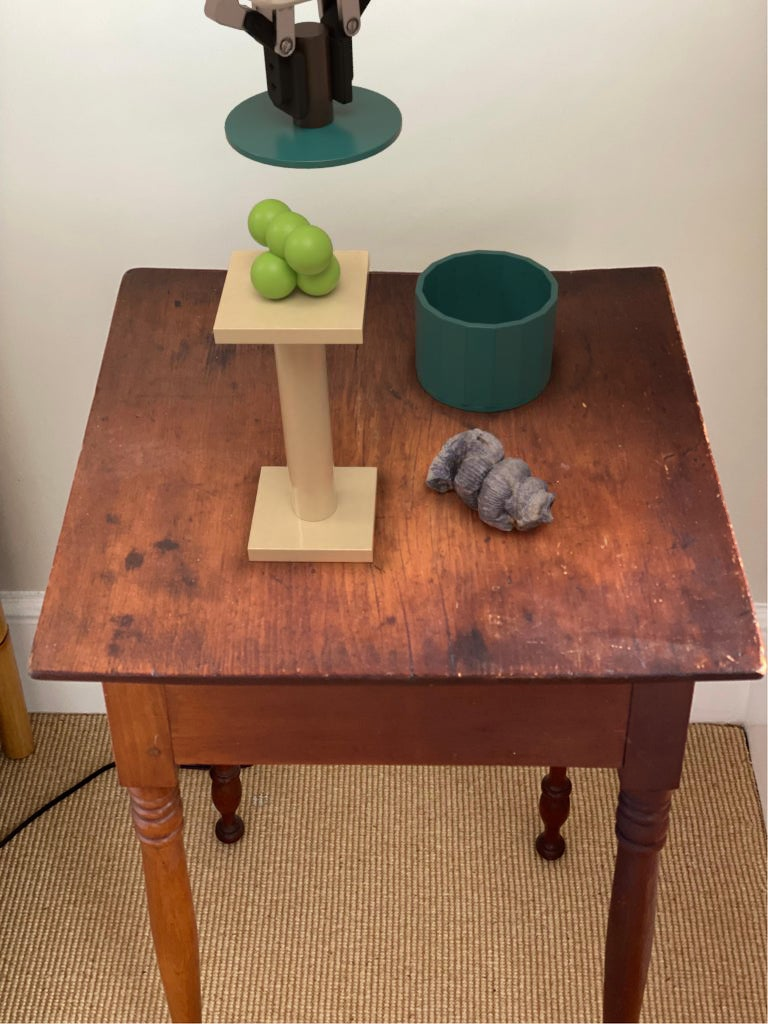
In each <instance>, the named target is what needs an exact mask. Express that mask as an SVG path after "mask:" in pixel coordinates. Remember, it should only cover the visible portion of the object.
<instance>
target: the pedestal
mask: <svg viewBox="0 0 768 1024" xmlns="http://www.w3.org/2000/svg"><path fill="white" fill-rule="evenodd" d="M267 251H269V249H268V250H265V249H264V250H262V249H261V250H232V252H231V257H230V260H229V264H228V269H227V273H226V277H225V281H224V284H223V288H222V292H221V297H220V299H219V304H218V308H217V312H216V316H215V320H214V323H213V328H212V331H213V337H214V338H213V339H214V344H216V345H273V352H274V360H275V370H276V378H277V379H276V380H277V387H278V388H277V389H278V395H279V404H280V412H281V413H280V414H281V422H282V432H283V441H284V448H285V449H284V450H285V458H286V466H284V465H282V466H278V465H275V466H274V465H272V466H271V465H269V466H268V465H264V466H261V467H260V473H259V479H258V484H257V490H256V495H255V496H256V497H255V502H254V508H253V512H252V519H251V524H250V531H249V535H248V542H247V556H248V561H249V562H274V563H275V562H277V563H278V562H281V563H282V562H283V563H286V562H287V563H291V562H294V563H373V561H374V553H375V552H374V550H375V534H376V516H377V503H378V502H377V501H378V500H377V499H378V483H379V473H378V472H379V471H378V467H377V466H335V456H334V454H335V453H334V443H333V428H332V427H333V426H332V415H331V414H332V413H331V400H330V387H329V373H328V359H327V346H326V345H362V344H364V338H365V337H364V336H365V335H364V334H365V325H366V323H365V322H366V313H367V302H368V291H369V290H368V289H369V278H370V267H371V263H370V249H362V250H361V249H347V250H345V249H341V250H340V249H337V250H336V249H335V250H334V249H333V254H334V255H335V257H336V258H337V260H338V262H339V265H340V270H341V274H340V279H339V282H338V284H337V285H336V287H335V288H334V289H333V290H332V291H330V292H329V293H327V294H324V295H319V296H315V295H310V294H307V293H305V292H304V291H302V290H301V289H300V288H299V287H298V285H297V284H296V286H295V288H294V289H293V291H292V292H291V293H290V294H288V295H287V296H285V297H283V298H279V299H270V298H266V297H264V296H262V295H261V294H259V293H258V292H257V291H256V289H255V288H254V286H253V285H252V282H251V278H250V271H251V267H252V264H253V262H254V260H255V259H256V258H257V257H258V256H259V255H261V254H262V253H264V252H267Z"/></svg>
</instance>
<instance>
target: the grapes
mask: <svg viewBox="0 0 768 1024" xmlns="http://www.w3.org/2000/svg"><path fill="white" fill-rule="evenodd" d="M247 228H248V232H249V234H250V236H251V238H252V239H253V240H254V241H255V242H256V244H258V245H260V246H263V248H268V250H269V251H267V252H264V253H262V254H261V255H259V256H258V257H257V258H256V259H255V260H254V262H253V264H252V267H251V271H250V278H251V282H252V285H253V286H254V288H255V289H256V291H257V292H258V293H259V294H261V295H262V296H264V297H266V298H270V299H279V298H283V297H285V296H287V295H288V294H290V293H291V292H292V291H293V289H294V288H295V286H296V284H297V285H298V287H299V288H300V289H301V290H302V291H304V292H305V293H307V294H310V295H315V296H319V295H324V294H327V293H329V292H330V291H332V290H333V289H334V288H335V287H336V285H337V284H338V282H339V279H340V274H341V270H340V265H339V262H338V260H337V258H336V257H335V255H334V254H333V250H334V247H333V242H332V239H331V237H330V236H329V235H328V233H327V232H326V231H325V230H324V229H322V228H320V227H319V226H317V225H313V224H311V223H310V221H309V220H308V219H307V218H306V217H305V216H304V215H302V214H301V213H298V212H295V211H293V210H292V209H291V207H289V205H287V204H286V203H285V202H283V201H282V200H279V199H276V198H266V199H262V200H260V201H258V202H257V203H255V204H254V206H253V207H252V208H251V210H250V211H249V214H248V217H247Z"/></svg>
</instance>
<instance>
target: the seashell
mask: <svg viewBox="0 0 768 1024" xmlns="http://www.w3.org/2000/svg"><path fill="white" fill-rule="evenodd" d="M427 470H428V471H427V477H426V478H425V480H424V484H425V485H426V486H427V487H429V488H430V489H433V490H436V491H437V492H439V493H442V494H445V493H446V492H447V491H450V490H455V492H456V493H457V495H458V497H459V498H460V499H461V500H462V502H463V503H464V504H465V505H466V506H467V507H469V508H470V509H472V510H474V511H477V514H478V516H479V520H481V521H482V522H484V523H485V524H487V525H488V526H490V527H492V528H496V529H498V530H500V531H504V532H511V531H512V530H513V529H514V527H515V528H516V530H518V531H519V532H521V531H522V532H524V531H525V532H529V531H531V530H532V529H535V528H537V527H538V526H540V525H549V524H550V523H551V522H552V523H553V521H554V520H555V519H554V517H553V514H552V512H551V509H552V507H553V505H554V503H555V500H556V493H555V492H554V491H551V492H549V486H548V483H547V481H546V480H544V479H542V478H540V477H536V476H532V470H531V467H529V465H528V463H527V462H525V461H524V460H523V459H522V458H518V457H512V456H507V457H506V452H505V448H504V445H503V442H502V441H501V440H500V439H499V438H498V437H497V436H495V435H494V434H493V433H491V432H490V431H489V430H482V429H480V428H478V427H477V428H473V429H468V430H465V431H462V432H459V433H458V434H455V435H454V436H453V437H449V438H448V440H446V441H445V443H444V444H443V445H442V446H441V449H440V451H439V452H438V453H437V455H436V456H434V458H433V459H432V462H431V463H430V465H429V467H428V469H427Z"/></svg>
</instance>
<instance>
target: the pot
mask: <svg viewBox="0 0 768 1024" xmlns="http://www.w3.org/2000/svg"><path fill="white" fill-rule="evenodd" d="M558 295H559V283H558V280H556V278H555V276H554V275H553V273H552V272H551V271H550V269H549V268H548V267H546V266H544V265H543V264H541V263H539V262H537V261H536V260H534V259H532V258H530V257H528V256H524V255H520V254H518V253H513V252H510V251H505V250H493V249H492V250H490V249H474V250H468V251H461V252H456V253H452V254H449V255H446V256H445V257H442V258H440V259H438V260H437V259H436V260H435V261H433V262H431V263H430V264H429V265H428V266H427V267H426V268H425V269H424V270H423V271H422V272H421V273H420V274H419V275H418V277H417V281H416V285H415V290H414V301H415V302H414V306H415V307H414V310H415V311H414V314H415V315H414V316H415V317H414V318H415V319H414V320H415V323H414V324H415V328H414V329H415V331H414V332H415V370H416V375H417V379H418V382H419V384H420V385H421V388H422V389H423V390H424V391H425V392H426V393H427V394H428V395H429V396H431V397H432V398H433V399H435V400H436V401H438V402H440V403H442V404H444V405H446V406H449V407H451V408H455V409H459V410H461V411H466V412H476V413H495V412H503V411H508V410H514V409H516V408H520V407H521V406H524V405H526V404H528V403H530V402H531V401H533V400H535V399H536V398H538V396H540V395H541V394H542V393H543V391H545V389H546V387H547V386H548V383H549V381H550V378H551V370H552V361H553V350H554V339H555V330H556V318H557V308H558V299H559V298H558Z"/></svg>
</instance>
